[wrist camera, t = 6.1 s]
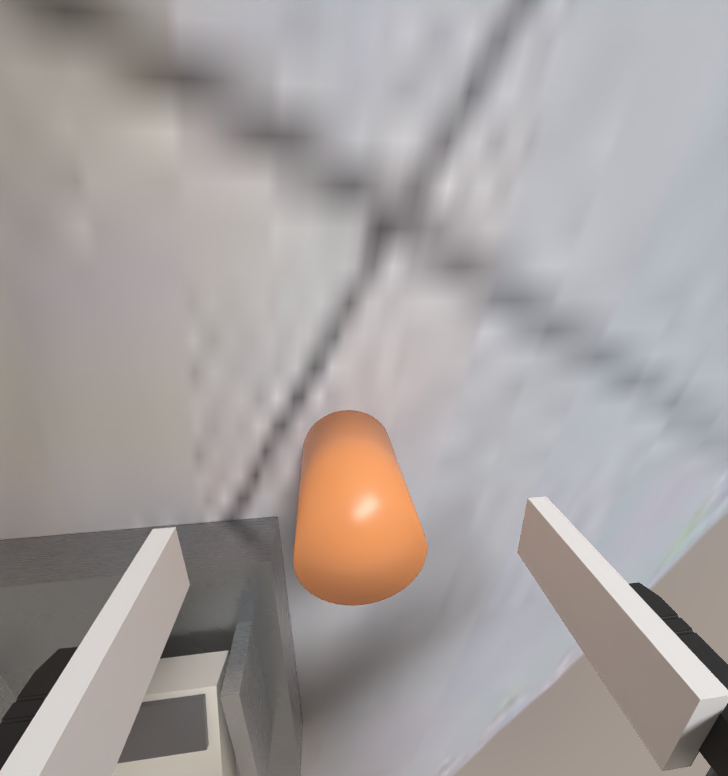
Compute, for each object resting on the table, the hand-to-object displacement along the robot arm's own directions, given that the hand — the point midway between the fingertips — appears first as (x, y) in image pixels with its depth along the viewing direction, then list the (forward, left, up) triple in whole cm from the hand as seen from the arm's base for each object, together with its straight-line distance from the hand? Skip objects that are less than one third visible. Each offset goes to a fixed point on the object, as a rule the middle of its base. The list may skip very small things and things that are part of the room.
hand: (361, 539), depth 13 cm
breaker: (+13, -9, 0) cm, 16 cm away
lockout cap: (0, 0, -6) cm, 6 cm away
